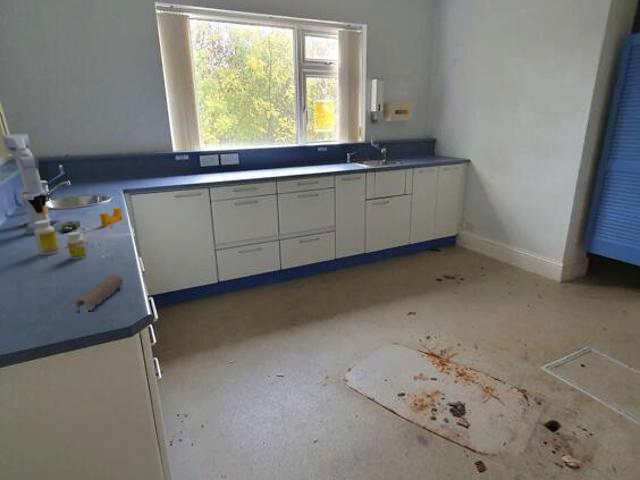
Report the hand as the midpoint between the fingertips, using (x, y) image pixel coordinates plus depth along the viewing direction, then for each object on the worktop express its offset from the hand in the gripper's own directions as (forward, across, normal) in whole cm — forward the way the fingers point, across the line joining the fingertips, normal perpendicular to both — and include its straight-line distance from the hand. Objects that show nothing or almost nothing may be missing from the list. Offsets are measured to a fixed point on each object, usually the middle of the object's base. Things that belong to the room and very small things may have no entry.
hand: (41, 211), depth 180 cm
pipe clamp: (+9, +4, -28) cm, 29 cm away
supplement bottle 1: (+9, -36, -14) cm, 40 cm away
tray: (+9, 0, 0) cm, 9 cm away
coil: (+10, -86, -45) cm, 97 cm away
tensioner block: (+9, -2, -11) cm, 14 cm away
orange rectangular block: (+4, 0, -1) cm, 4 cm away
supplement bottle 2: (+9, -45, -27) cm, 53 cm away
